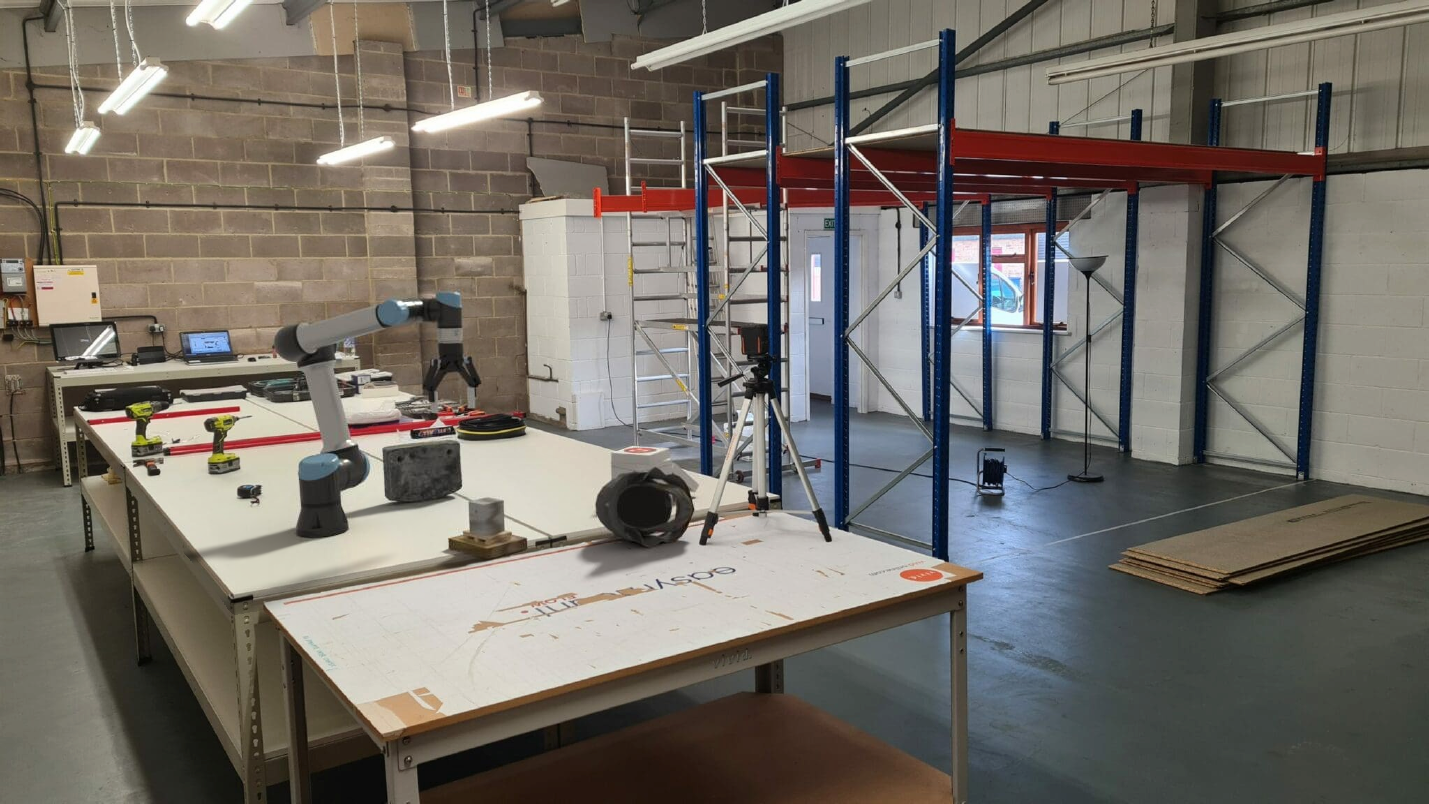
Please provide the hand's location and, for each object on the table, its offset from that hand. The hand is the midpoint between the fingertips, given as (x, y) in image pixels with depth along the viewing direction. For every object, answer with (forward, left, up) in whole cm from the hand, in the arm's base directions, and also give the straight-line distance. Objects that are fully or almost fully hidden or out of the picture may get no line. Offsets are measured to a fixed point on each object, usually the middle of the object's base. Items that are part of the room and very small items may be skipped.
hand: (453, 410), depth 304 cm
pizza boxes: (+65, -24, -37) cm, 78 cm away
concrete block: (+15, +41, -37) cm, 57 cm away
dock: (-11, -29, -37) cm, 48 cm away
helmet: (+23, -57, -37) cm, 72 cm away
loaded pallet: (-11, -29, -34) cm, 46 cm away
